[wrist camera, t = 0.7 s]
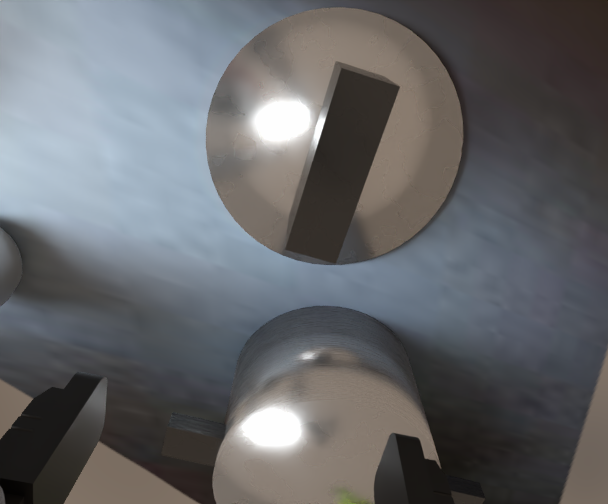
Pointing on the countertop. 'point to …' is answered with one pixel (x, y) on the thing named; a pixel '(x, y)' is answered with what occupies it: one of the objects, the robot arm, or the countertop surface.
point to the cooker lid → (334, 136)
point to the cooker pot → (311, 414)
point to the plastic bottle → (9, 266)
